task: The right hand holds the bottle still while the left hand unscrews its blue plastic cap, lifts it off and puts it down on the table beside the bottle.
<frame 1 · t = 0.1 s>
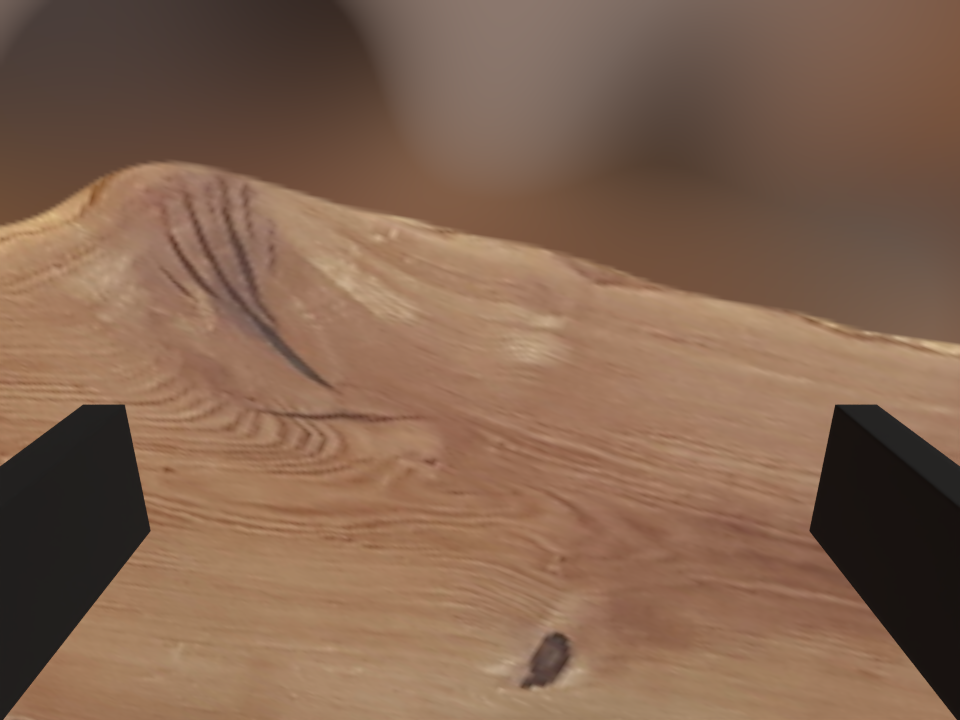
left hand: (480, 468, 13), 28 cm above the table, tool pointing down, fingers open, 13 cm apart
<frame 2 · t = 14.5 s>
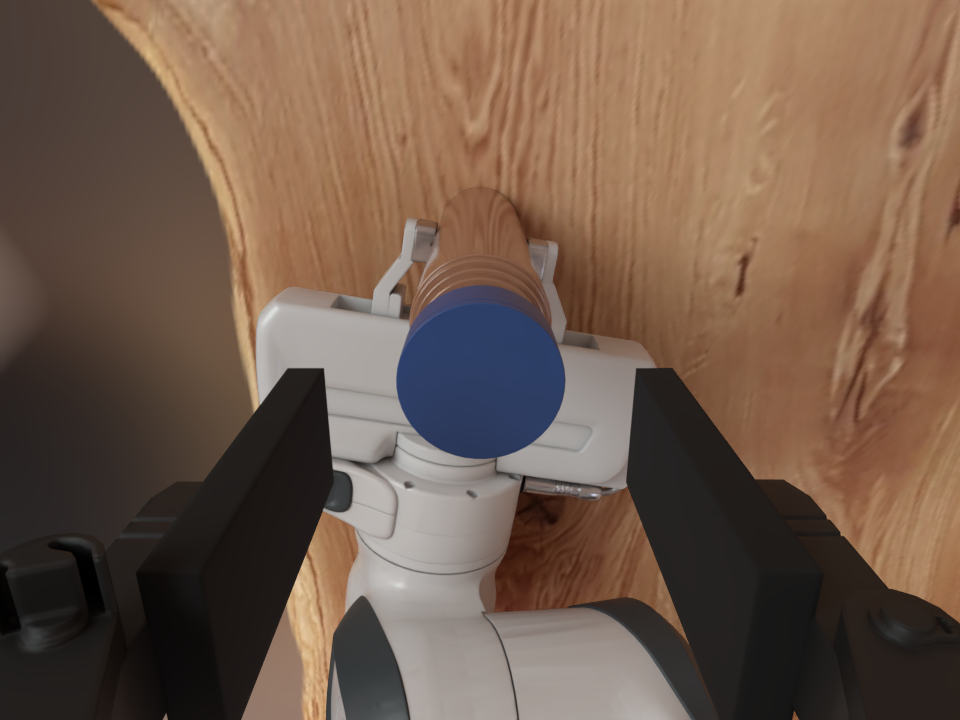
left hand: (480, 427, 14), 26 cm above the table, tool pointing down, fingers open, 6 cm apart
right hand: (482, 230, 32), fingers closed on bottle, 4 cm apart
bottle: (479, 227, 38), on the table, touching right hand
cap: (480, 380, 17), point 23 cm above the table, screwed on, not yet turned
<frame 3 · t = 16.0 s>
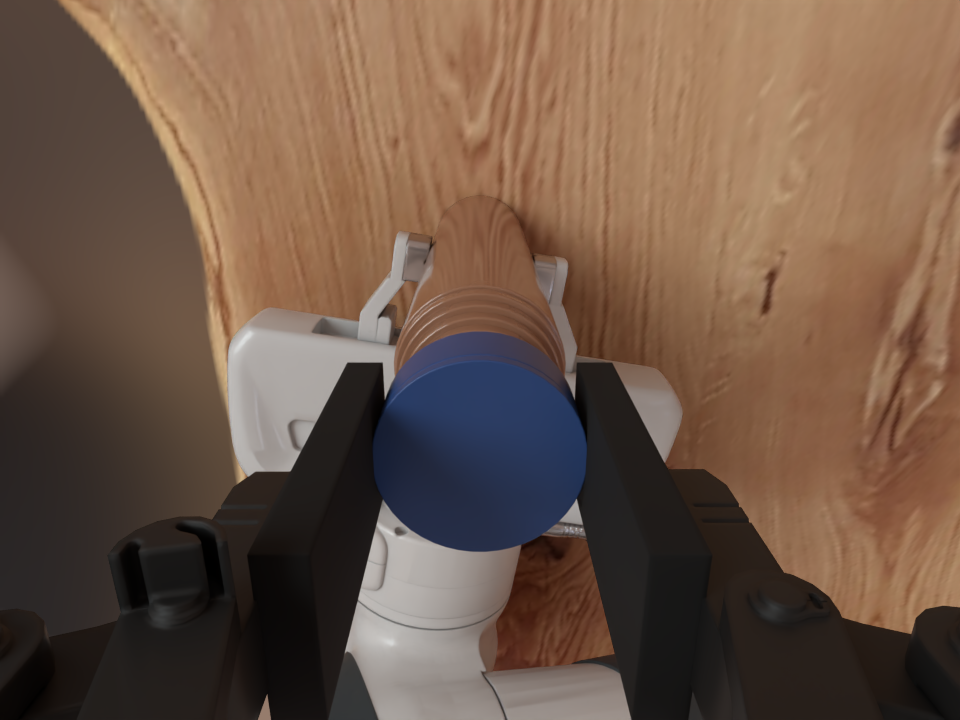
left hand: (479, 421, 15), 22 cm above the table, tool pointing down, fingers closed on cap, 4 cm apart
bottle: (479, 239, 35), on the table, touching right hand
cap: (479, 454, 13), point 23 cm above the table, screwed on, not yet turned, touching left hand
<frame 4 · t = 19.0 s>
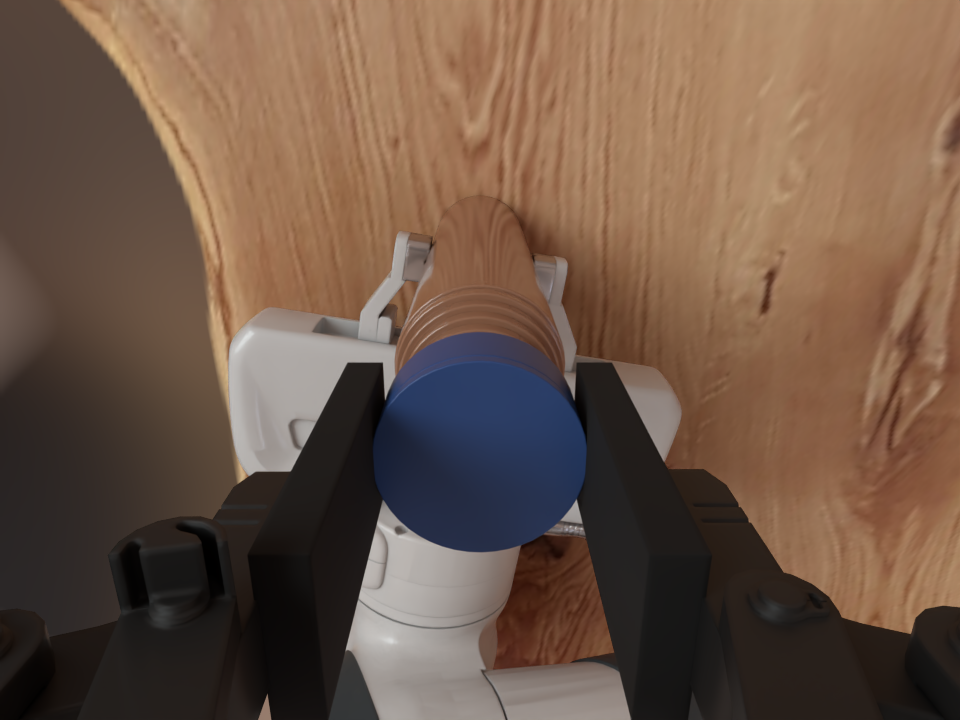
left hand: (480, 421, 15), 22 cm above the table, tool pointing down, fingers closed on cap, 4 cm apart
bottle: (479, 239, 35), on the table, touching right hand
cap: (479, 455, 13), point 23 cm above the table, turned 88° so far, risen 0.1 cm, still on its thread, touching left hand
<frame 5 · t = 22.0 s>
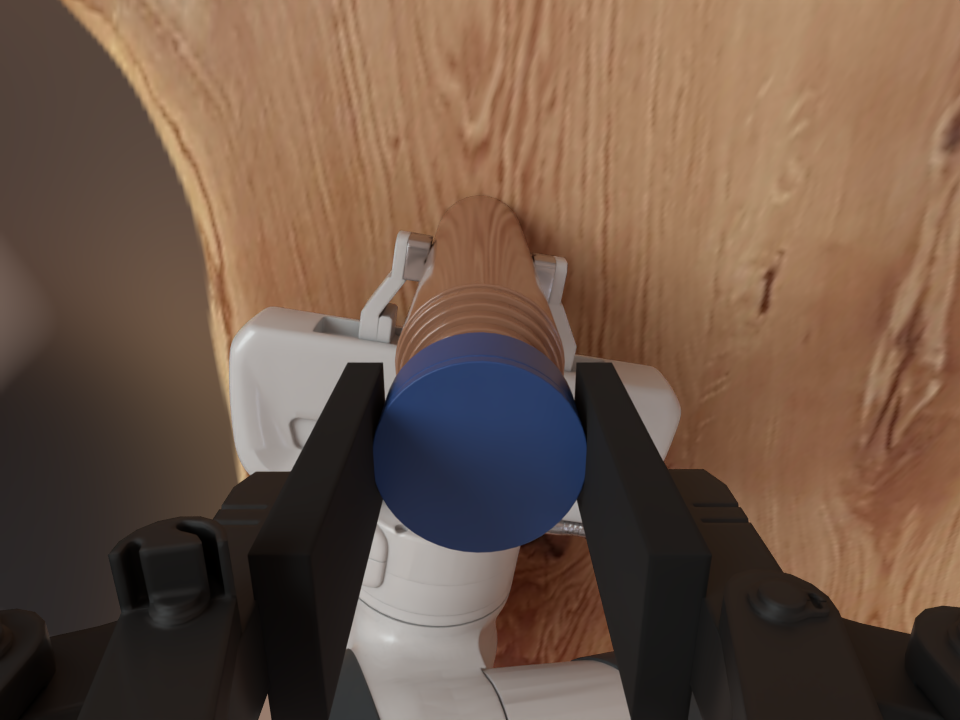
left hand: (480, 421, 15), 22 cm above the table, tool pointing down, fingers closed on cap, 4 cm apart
bottle: (479, 239, 35), on the table, touching right hand
cap: (479, 455, 13), point 23 cm above the table, turned 175° so far, risen 0.2 cm, still on its thread, touching left hand
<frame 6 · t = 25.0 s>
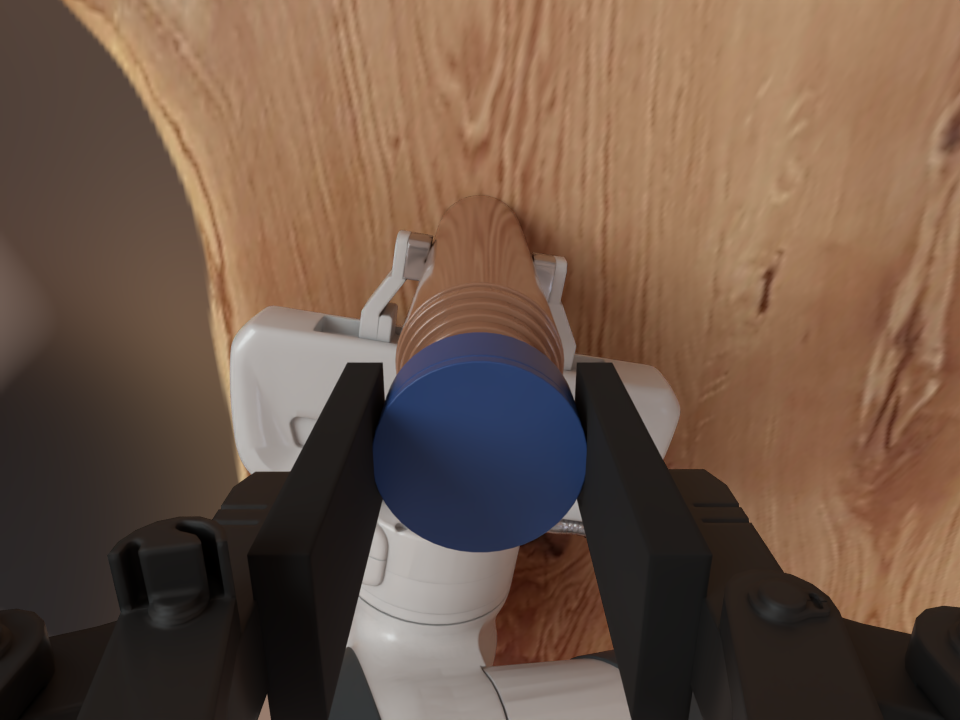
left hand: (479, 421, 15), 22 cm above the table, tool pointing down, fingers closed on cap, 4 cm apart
bottle: (479, 238, 35), on the table, touching right hand
cap: (479, 455, 13), point 24 cm above the table, turned 263° so far, risen 0.3 cm, still on its thread, touching left hand
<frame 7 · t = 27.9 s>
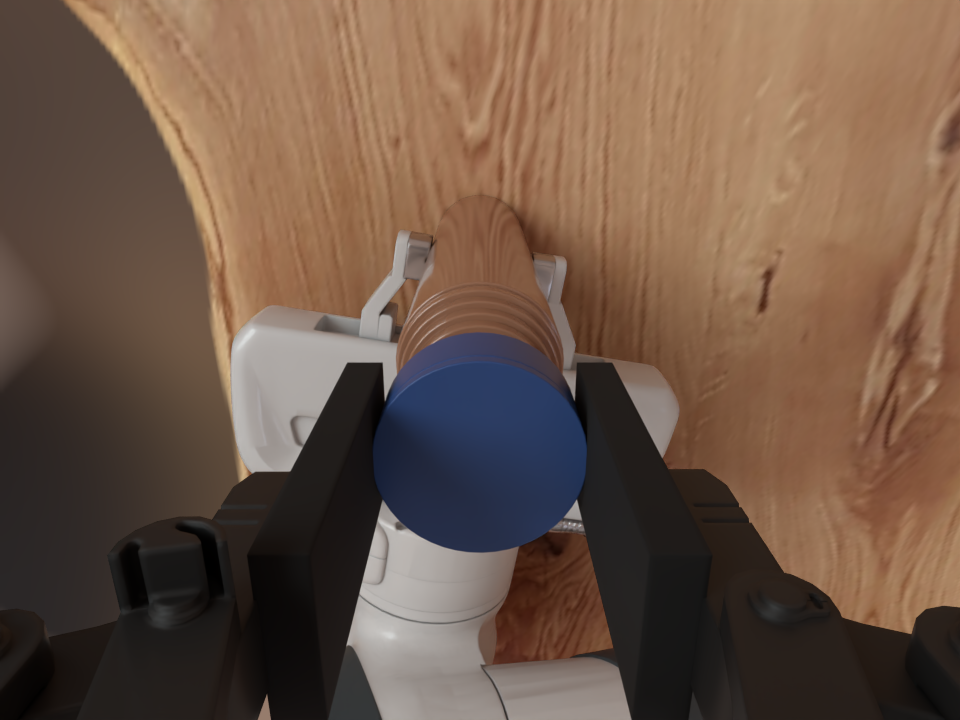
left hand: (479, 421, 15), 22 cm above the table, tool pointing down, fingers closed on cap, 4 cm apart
bottle: (479, 238, 35), on the table, touching right hand
cap: (479, 455, 13), point 24 cm above the table, turned 351° so far, risen 0.4 cm, still on its thread, touching left hand
when the left hand's fingers open (1 cm above the table, at t = 34.6 s): cap drops 1 cm, point 1 cm above the table.
when the right hand's fingers open (6 cm above the table, at t = 35.9 s): bottle stays where it is, on the table.
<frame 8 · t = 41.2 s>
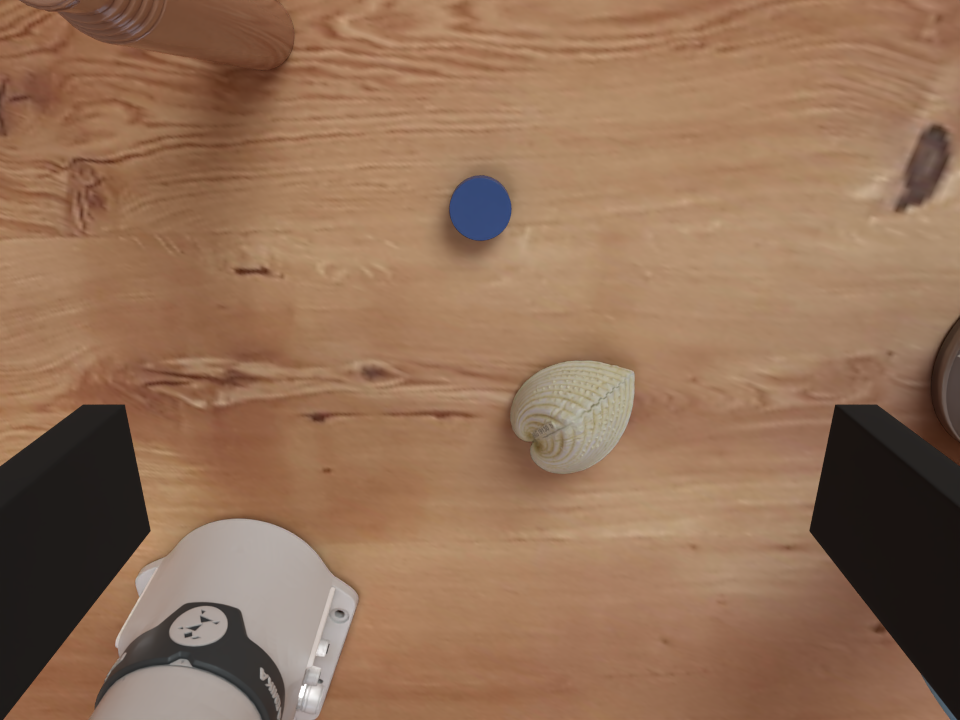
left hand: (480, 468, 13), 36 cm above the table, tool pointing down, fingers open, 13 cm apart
bottle: (259, 32, 43), on the table
cap: (480, 209, 45), point 1 cm above the table, off its thread
seashell: (569, 406, 52), on the table
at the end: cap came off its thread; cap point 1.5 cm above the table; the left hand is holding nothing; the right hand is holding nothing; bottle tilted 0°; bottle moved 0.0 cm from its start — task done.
